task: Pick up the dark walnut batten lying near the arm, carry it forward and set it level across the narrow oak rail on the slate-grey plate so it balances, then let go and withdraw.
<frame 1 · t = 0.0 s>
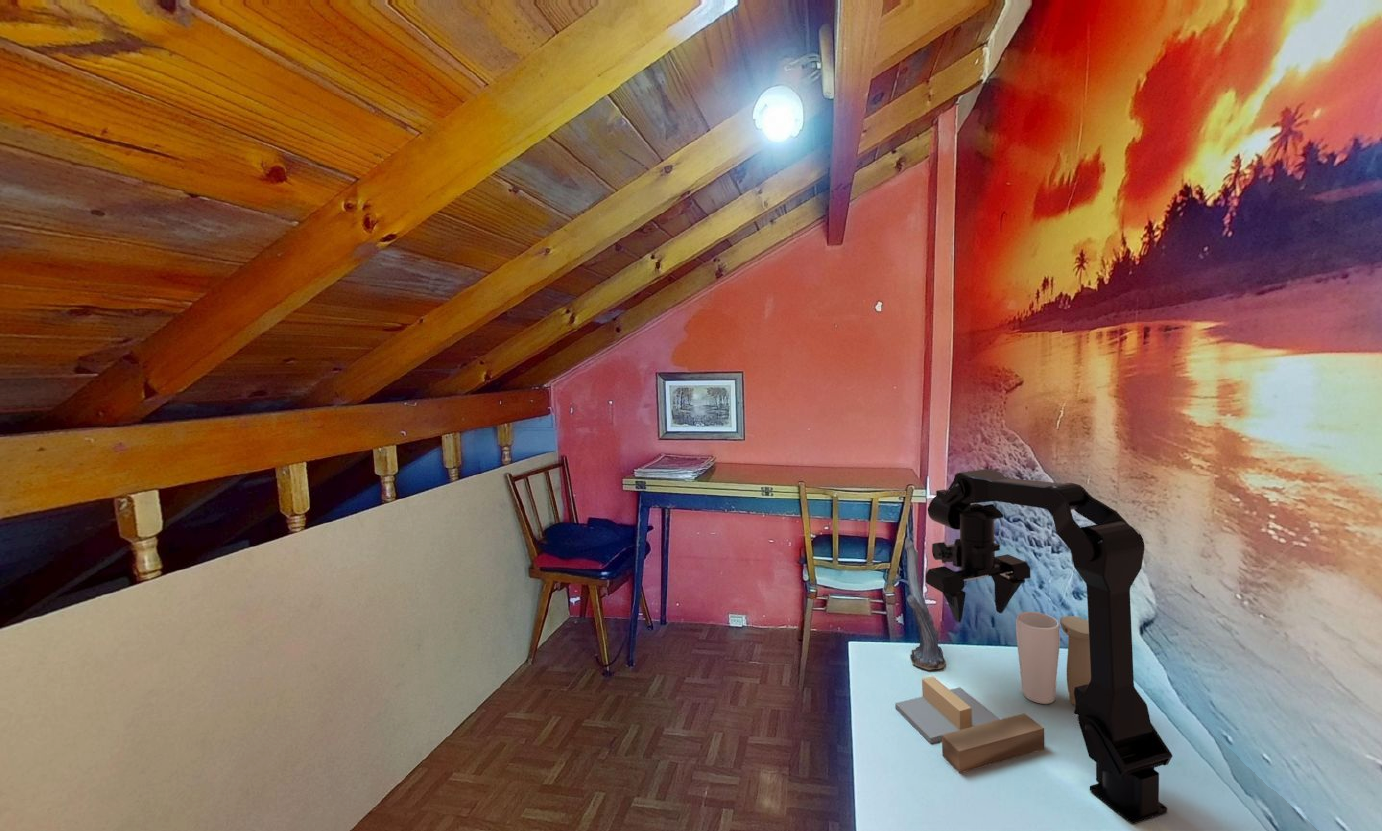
hand: (978, 616, 105), 15 cm above the table, fingers open, 9 cm apart
batten: (993, 754, 91), on the table
drinking glass: (1038, 697, 104), on the table
handle: (1079, 704, 101), on the table
antler: (921, 657, 120), on the table
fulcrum: (946, 716, 100), on the table
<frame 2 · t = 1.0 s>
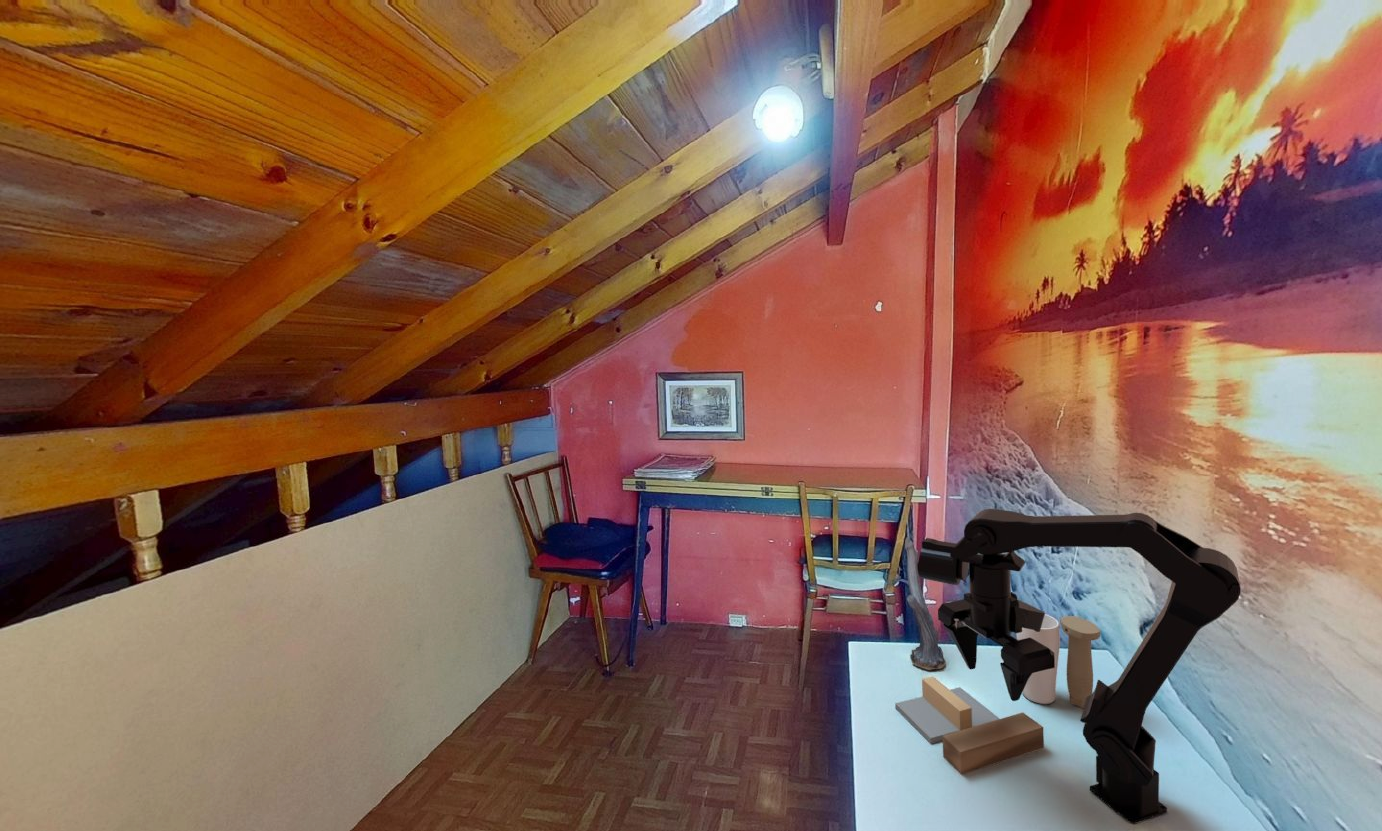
hand: (992, 683, 90), 12 cm above the table, fingers open, 9 cm apart
nothing on the table moved.
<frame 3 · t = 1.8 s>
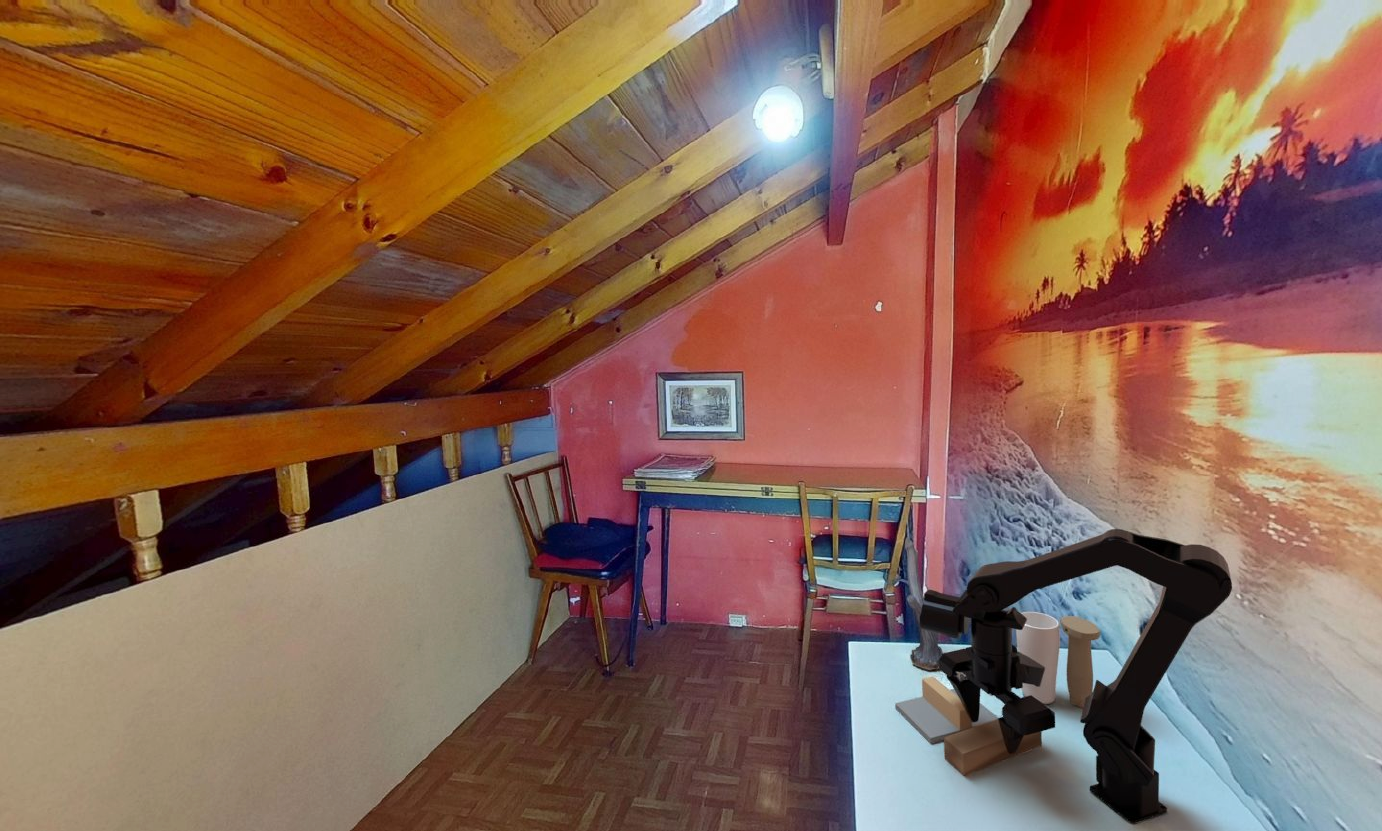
hand: (992, 736, 91), 3 cm above the table, fingers open, 8 cm apart
nothing on the table moved.
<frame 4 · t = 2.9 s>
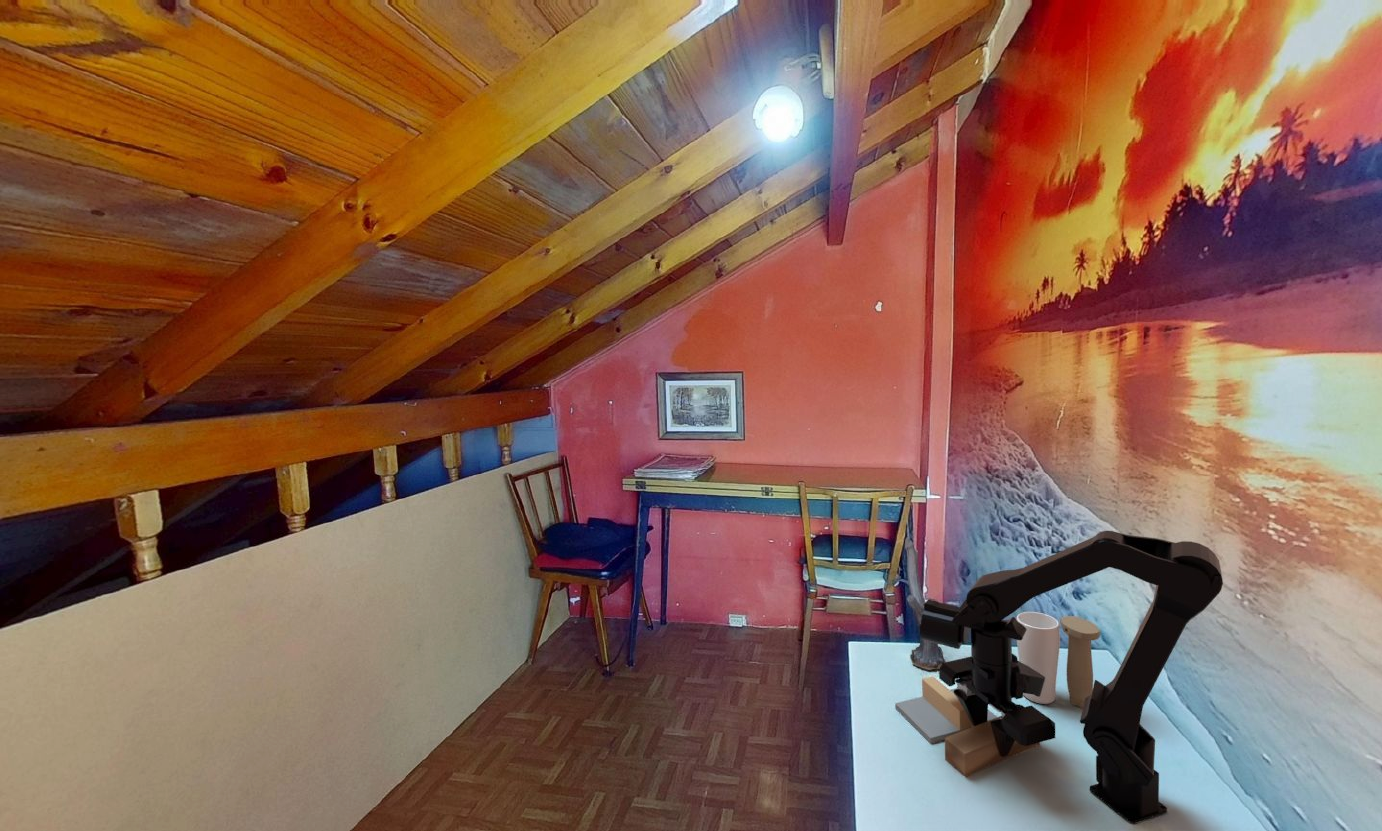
hand: (993, 746, 91), 1 cm above the table, fingers closed on batten, 4 cm apart
batten: (993, 753, 91), on the table, touching gripper
everything else where it was.
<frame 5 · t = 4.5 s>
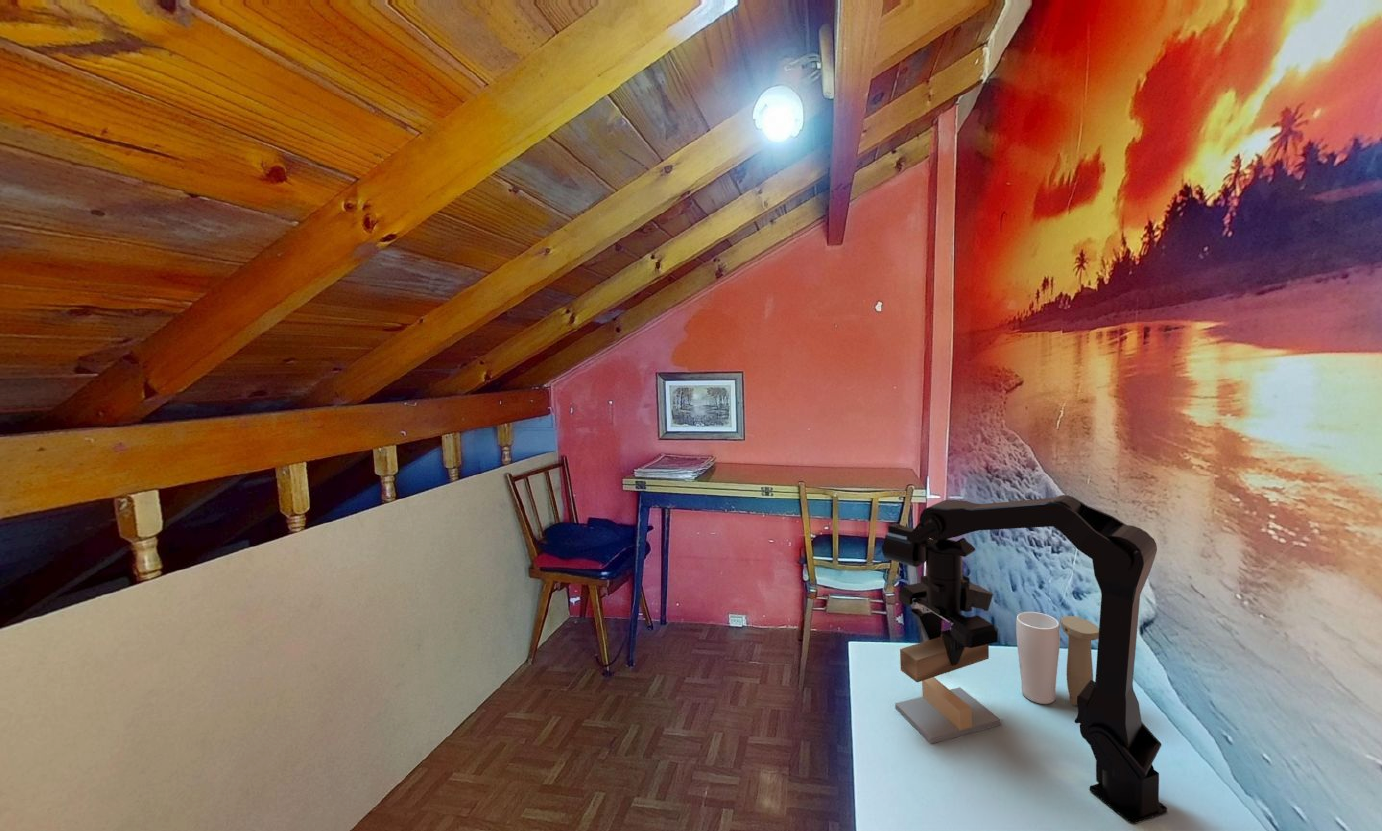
hand: (945, 657, 99), 11 cm above the table, fingers closed on batten, 4 cm apart
batten: (945, 664, 99), point 10 cm above the table, touching gripper
everything else where it was.
when the fingers open (6 cm above the table, at t = 5.8 s): batten stays where it is, resting on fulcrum.
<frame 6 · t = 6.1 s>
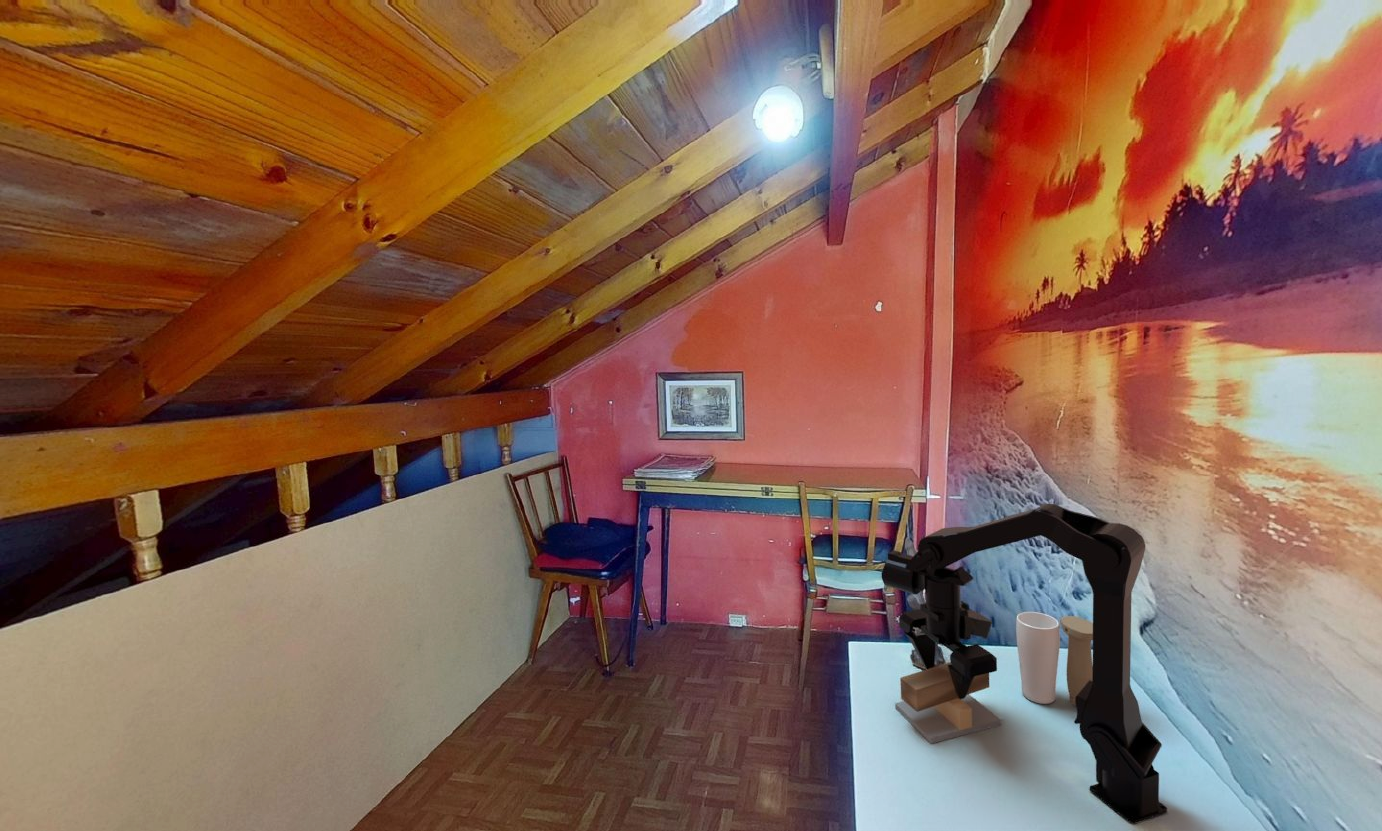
hand: (945, 685, 100), 6 cm above the table, fingers open, 8 cm apart
batten: (945, 692, 100), point 4 cm above the table, touching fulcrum
everything else where it was.
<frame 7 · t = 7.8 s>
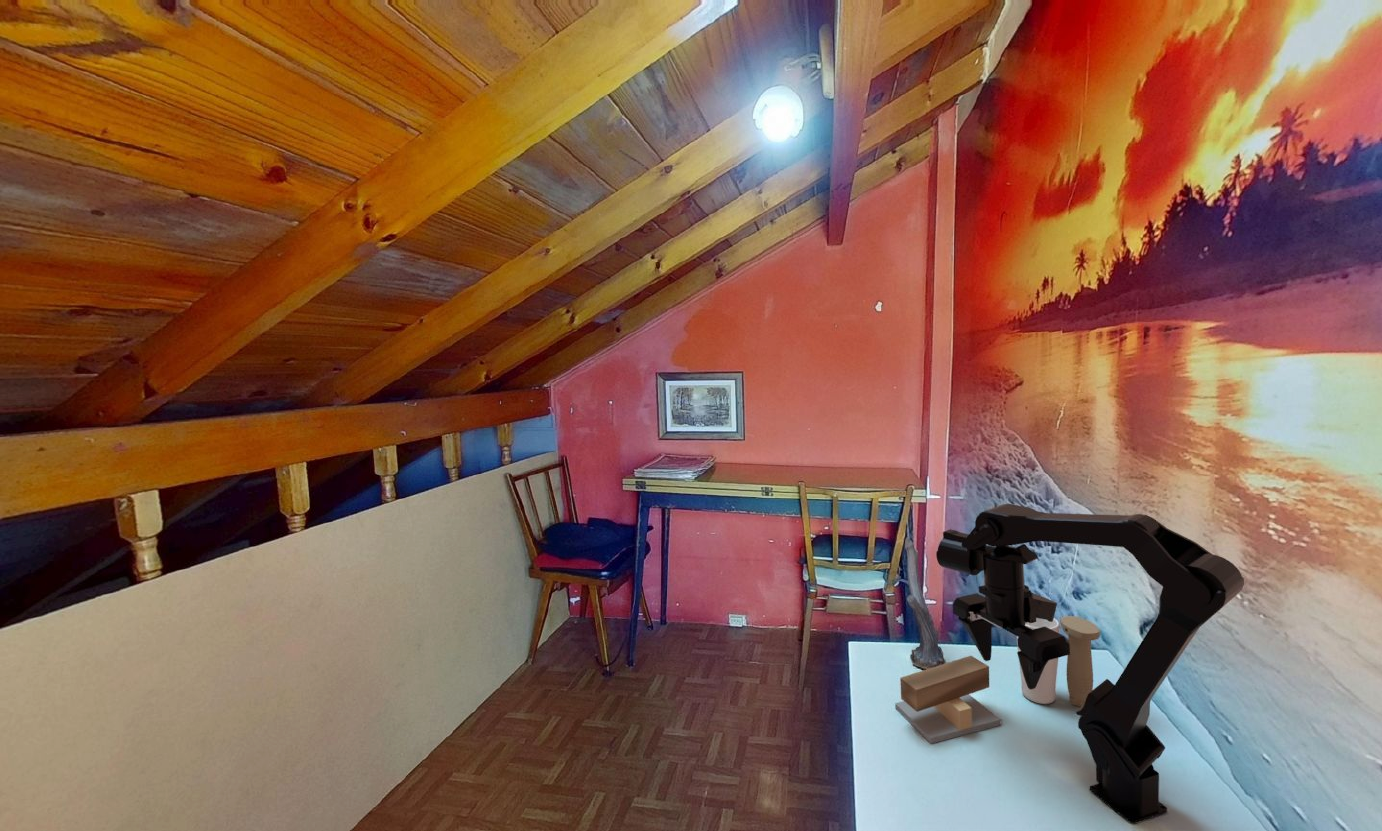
hand: (1008, 673, 92), 12 cm above the table, fingers open, 9 cm apart
nothing on the table moved.
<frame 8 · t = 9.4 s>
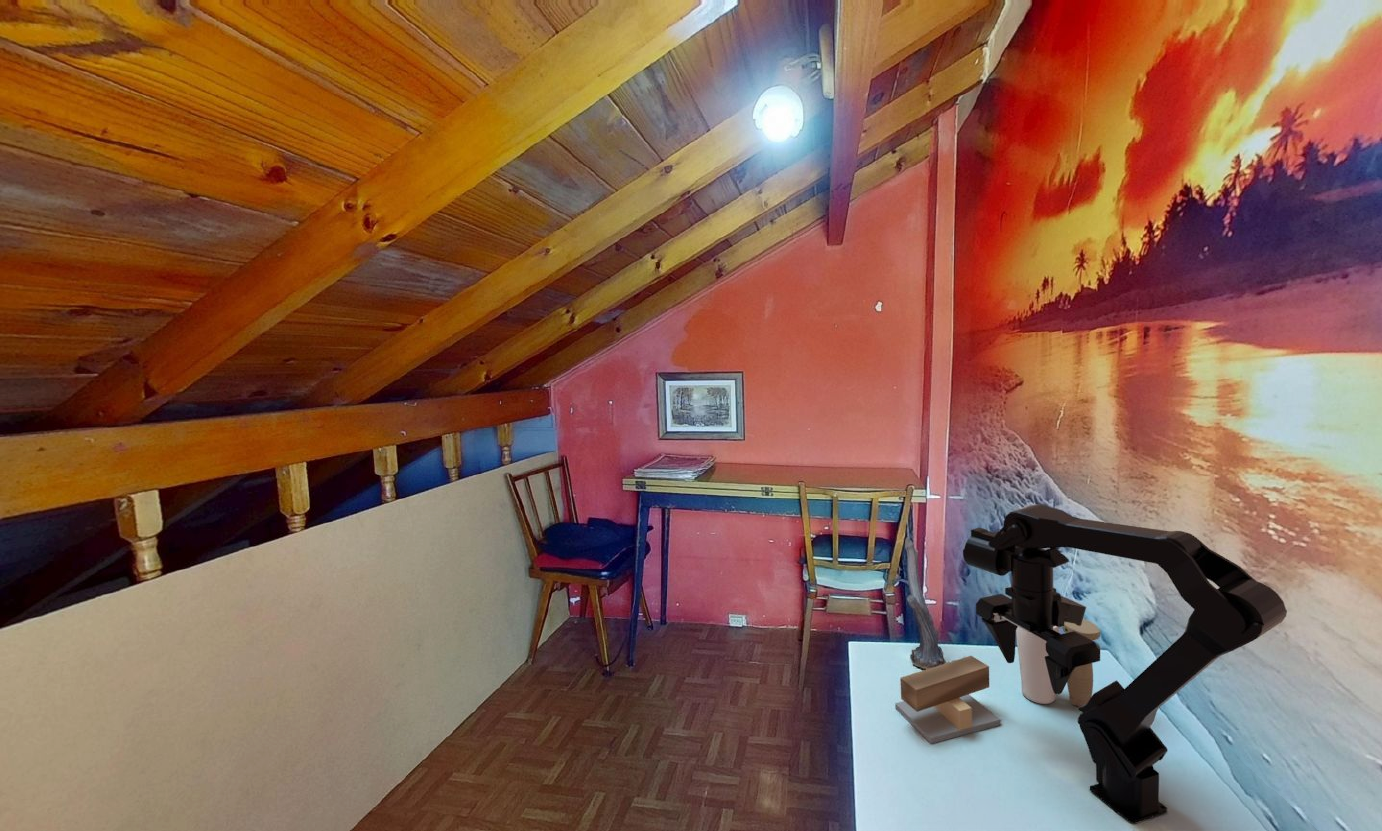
hand: (1033, 677, 90), 12 cm above the table, fingers open, 9 cm apart
nothing on the table moved.
at the end: batten inside the target area on the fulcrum (0.1 cm from its centre), point 4.5 cm above the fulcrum's base; batten tilted 0°; the gripper is holding nothing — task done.
